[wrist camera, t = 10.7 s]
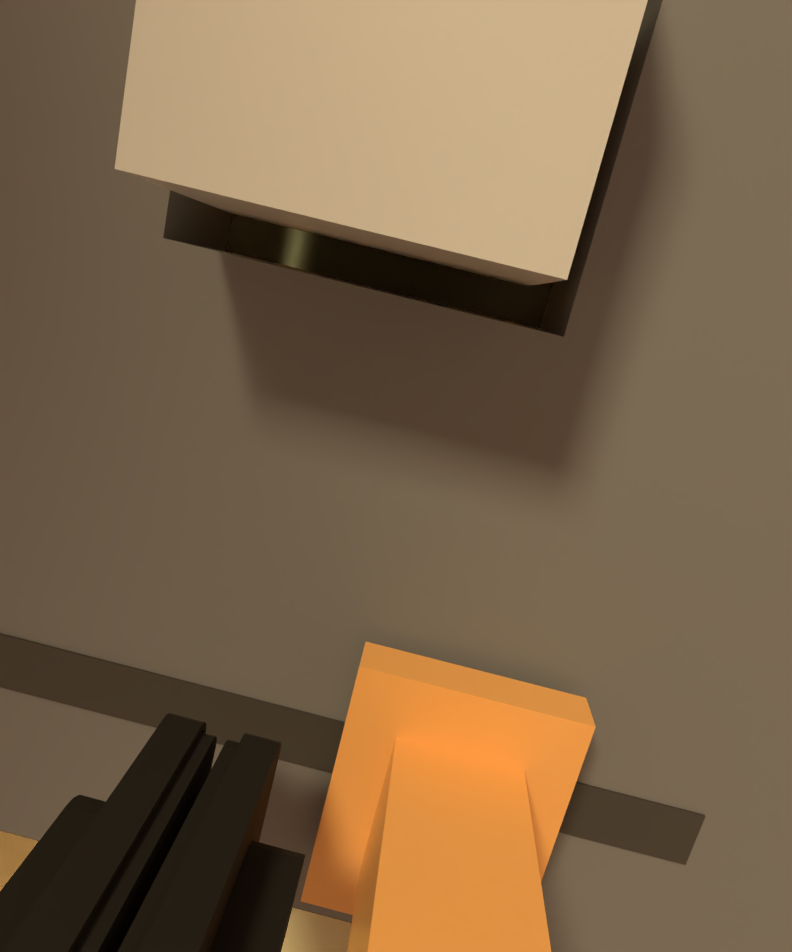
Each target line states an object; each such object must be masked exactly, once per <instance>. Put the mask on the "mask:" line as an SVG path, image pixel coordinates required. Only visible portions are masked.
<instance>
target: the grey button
mask: <svg viewBox="0 0 792 952" xmlns="http://www.w3.org/2000/svg"><path fill="white" fill-rule="evenodd" d="M647 2H648V0H136V5H135V13H134V21H133V28H132V36H131V44H130V52H129V60H128V67H127V75H126V83H125V91H124V99H123V106H122V114H121V122H120V130H119V138H118V146H117V153H116V161H115V169H116V170H119V171H121V172H124V173H127V174H129V175H132V176H135V177H137V178H140V179H142V180H145V181H148V182H150V183H153V184H156V185H158V186H161V187H163V188H166V189H169V190H171V191H174V192H176V193H179V194H182V195H184V196H187V197H190V198H192V199H195V200H197V201H200V202H203V203H205V204H208V205H211V206H213V207H216V208H218V209H221V210H224V211H226V212H229V213H232V214H236V215H240V216H244V217H248V218H252V219H256V220H261V221H265V222H269V223H273V224H277V225H281V226H285V227H289V228H293V229H297V230H301V231H305V232H309V233H313V234H318V235H322V236H326V237H330V238H334V239H338V240H342V241H346V242H350V243H354V244H358V245H362V246H366V247H370V248H375V249H379V250H383V251H387V252H391V253H395V254H399V255H403V256H407V257H411V258H415V259H419V260H423V261H428V262H432V263H436V264H440V265H444V266H448V267H452V268H456V269H460V270H464V271H468V272H472V273H476V274H480V275H485V276H489V277H493V278H497V279H501V280H505V281H509V282H513V283H517V284H521V285H525V286H533V285H539V284H545V283H551V282H557V281H563V280H567V279H568V275H569V272H570V268H571V265H572V261H573V258H574V254H575V251H576V248H577V244H578V241H579V237H580V234H581V230H582V227H583V223H584V220H585V216H586V213H587V209H588V206H589V203H590V199H591V196H592V192H593V189H594V185H595V182H596V178H597V175H598V171H599V168H600V164H601V161H602V157H603V154H604V151H605V147H606V144H607V140H608V137H609V133H610V130H611V126H612V123H613V119H614V116H615V112H616V109H617V106H618V102H619V99H620V95H621V92H622V88H623V85H624V81H625V78H626V74H627V71H628V67H629V64H630V60H631V57H632V54H633V50H634V47H635V43H636V40H637V36H638V33H639V29H640V26H641V22H642V19H643V15H644V12H645V9H646V5H647Z"/></svg>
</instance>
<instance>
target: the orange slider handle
mask: <svg viewBox="0 0 792 952" xmlns="http://www.w3.org/2000/svg"><path fill="white" fill-rule="evenodd" d="M595 728H596V726H595V723H594V720H593V717H592V714H591V711H590V708H589V705H588V702H587V699H586V698H585V697H581V696H577V695H574V694H570V693H566V692H562V691H558V690H554V689H550V688H546V687H542V686H538V685H534V684H530V683H527V682H523V681H519V680H515V679H511V678H507V677H503V676H499V675H495V674H491V673H487V672H484V671H480V670H476V669H472V668H468V667H464V666H460V665H456V664H452V663H448V662H444V661H441V660H437V659H433V658H429V657H425V656H421V655H417V654H413V653H409V652H405V651H401V650H397V649H394V648H390V647H386V646H382V645H378V644H374V643H370V642H365V646H364V650H363V654H362V657H361V661H360V665H359V669H358V673H357V677H356V681H355V685H354V689H353V693H352V697H351V701H350V705H349V709H348V713H347V717H346V721H345V725H344V729H343V733H342V737H341V741H340V745H339V749H338V753H337V757H336V761H335V765H334V769H333V773H332V777H331V781H330V785H329V789H328V793H327V797H326V801H325V805H324V809H323V813H322V817H321V821H320V825H319V829H318V833H317V837H316V841H315V845H314V849H313V853H312V857H311V861H310V865H309V869H308V873H307V877H306V881H305V885H304V889H303V893H302V897H301V902H305V903H309V904H313V905H316V906H320V907H324V908H328V909H332V910H335V911H339V912H343V913H347V914H351V915H353V917H352V924H351V930H350V936H349V942H348V948H347V952H551V946H550V939H549V932H548V926H547V919H546V912H545V906H544V899H543V892H542V886H541V881H542V878H543V875H544V872H545V869H546V867H547V864H548V861H549V858H550V855H551V852H552V850H553V847H554V844H555V841H556V838H557V835H558V833H559V830H560V827H561V824H562V821H563V818H564V816H565V813H566V810H567V807H568V804H569V801H570V798H571V796H572V793H573V790H574V787H575V784H576V781H577V779H578V776H579V773H580V770H581V767H582V764H583V762H584V759H585V756H586V753H587V750H588V747H589V745H590V742H591V739H592V736H593V733H594V730H595Z"/></svg>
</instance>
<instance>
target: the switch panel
mask: <svg viewBox="0 0 792 952" xmlns="http://www.w3.org/2000/svg"><path fill="white" fill-rule="evenodd" d="M135 5H136V0H0V831H4V832H8V833H12V834H16V835H19V836H23V837H27V838H31V839H35V840H38V841H39V840H40V839H41V838H42V837H43V835H44V834H45V833H46V831H47V830H48V829H49V827H50V826H51V825H52V823H53V822H54V821H55V820H56V818H57V817H58V816H59V814H60V813H61V812H62V810H63V809H64V808H65V806H66V805H67V804H68V803H69V802H70V801H71V800H72V799H73V798H74V797H76V796H77V795H83V796H87V797H91V798H94V799H98V800H102V801H107V799H108V798H109V796H110V795H111V793H112V792H113V791H114V789H115V788H116V786H117V785H118V783H119V782H120V780H121V779H122V778H123V776H124V775H125V773H126V772H127V770H128V769H129V767H130V766H131V765H132V763H133V762H134V760H135V759H136V757H137V756H138V754H139V753H140V752H141V750H142V749H143V747H144V746H145V744H146V743H147V741H148V740H149V739H150V737H151V736H152V734H153V733H154V731H155V730H156V728H157V727H158V726H159V724H160V723H161V721H162V720H163V718H164V717H165V716H166V715H167V714H168V713H172V714H175V715H179V716H183V717H187V718H191V719H194V720H198V721H202V722H205V723H206V734H209V735H213V736H216V737H217V743H216V749H215V753H214V758H213V763H212V767H213V765H214V763H215V761H216V759H217V757H218V756H219V754H220V752H221V750H222V748H223V746H224V744H225V742H226V741H227V740H232V741H235V742H239V743H240V740H241V738H242V737H243V735H244V734H245V733H247V734H251V735H255V736H259V737H263V738H266V739H270V740H274V741H278V742H281V750H280V754H279V759H278V763H277V767H276V772H275V776H274V780H273V784H272V789H271V793H270V797H269V802H268V806H267V810H266V814H265V819H264V823H263V827H262V832H261V836H260V840H259V842H260V843H263V844H267V845H271V846H275V847H278V848H282V849H286V850H290V851H294V852H297V853H301V854H305V859H304V863H303V867H302V871H301V875H300V879H299V883H298V887H297V891H296V895H295V899H294V903H293V908H297V909H301V910H305V911H308V912H312V913H316V914H320V915H324V916H327V917H331V918H335V919H339V920H343V921H346V922H350V923H352V917H353V915H351V914H347V913H343V912H339V911H335V910H332V909H328V908H324V907H320V906H316V905H313V904H309V903H305V902H301V897H302V893H303V889H304V885H305V881H306V877H307V873H308V869H309V865H310V861H311V857H312V853H313V849H314V845H315V841H316V837H317V833H318V829H319V825H320V821H321V817H322V813H323V809H324V805H325V801H326V797H327V793H328V789H329V785H330V781H331V777H332V773H333V769H334V765H335V761H336V757H337V753H338V749H339V745H340V741H341V737H342V733H343V729H344V725H345V721H346V717H347V713H348V709H349V705H350V701H351V697H352V693H353V689H354V685H355V681H356V677H357V673H358V669H359V665H360V661H361V657H362V654H363V650H364V646H365V642H370V643H374V644H378V645H382V646H386V647H390V648H394V649H397V650H401V651H405V652H409V653H413V654H417V655H421V656H425V657H429V658H433V659H437V660H441V661H444V662H448V663H452V664H456V665H460V666H464V667H468V668H472V669H476V670H480V671H484V672H487V673H491V674H495V675H499V676H503V677H507V678H511V679H515V680H519V681H523V682H527V683H530V684H534V685H538V686H542V687H546V688H550V689H554V690H558V691H562V692H566V693H570V694H574V695H577V696H581V697H585V698H586V699H587V702H588V705H589V708H590V711H591V714H592V717H593V720H594V723H595V726H596V728H595V730H594V733H593V736H592V739H591V742H590V745H589V747H588V750H587V753H586V756H585V759H584V762H583V764H582V767H581V770H580V773H579V776H578V779H577V781H576V784H575V787H574V790H573V793H572V796H571V798H570V801H569V804H568V807H567V810H566V813H565V816H564V818H563V821H562V824H561V827H560V830H559V833H558V835H557V838H556V841H555V844H554V847H553V850H552V852H551V855H550V858H549V861H548V864H547V867H546V869H545V872H544V875H543V878H542V881H541V886H542V892H543V899H544V906H545V912H546V919H547V926H548V932H549V939H550V946H551V952H792V0H648V2H647V5H646V9H645V12H644V15H643V19H642V22H641V26H640V29H639V33H638V36H637V40H636V43H635V47H634V50H633V54H632V57H631V60H630V64H629V67H628V71H627V74H626V78H625V81H624V85H623V88H622V92H621V95H620V99H619V102H618V106H617V109H616V112H615V116H614V119H613V123H612V126H611V130H610V133H609V137H608V140H607V144H606V147H605V151H604V154H603V157H602V161H601V164H600V168H599V171H598V175H597V178H596V182H595V185H594V189H593V192H592V196H591V199H590V203H589V206H588V209H587V213H586V216H585V220H584V223H583V227H582V230H581V234H580V237H579V241H578V244H577V248H576V251H575V254H574V258H573V261H572V265H571V268H570V272H569V275H568V279H567V280H563V281H557V282H553V284H552V288H551V291H550V295H549V298H548V302H547V305H546V309H545V312H544V316H543V319H542V323H541V326H540V328H536V327H532V326H528V325H524V324H520V323H516V322H512V321H508V320H504V319H500V318H496V317H491V316H487V315H483V314H479V313H475V312H471V311H467V310H463V309H459V308H455V307H451V306H447V305H443V304H439V303H435V302H431V301H427V300H423V299H418V298H414V297H410V296H406V295H402V294H398V293H394V292H390V291H386V290H382V289H378V288H374V287H370V286H366V285H362V284H358V283H354V282H350V281H345V280H341V279H337V278H333V277H329V276H325V275H321V274H317V273H313V272H309V271H305V270H301V269H297V268H293V267H289V266H285V265H281V264H277V263H273V262H268V261H264V260H260V259H256V258H252V257H248V256H244V255H240V254H236V253H232V252H228V251H226V248H227V243H228V237H229V231H230V225H231V219H232V213H229V212H226V211H224V210H221V209H218V208H216V207H213V206H211V205H208V204H205V203H203V202H200V201H197V200H195V199H192V198H190V197H187V196H184V195H182V194H179V193H176V192H174V191H171V190H169V189H166V188H163V187H161V186H158V185H156V184H153V183H150V182H148V181H145V180H142V179H140V178H137V177H135V176H132V175H129V174H127V173H124V172H121V171H119V170H116V169H115V161H116V153H117V146H118V138H119V130H120V122H121V114H122V106H123V99H124V91H125V83H126V75H127V67H128V60H129V52H130V44H131V36H132V28H133V21H134V13H135ZM211 769H212V768H211Z"/></svg>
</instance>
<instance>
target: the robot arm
mask: <svg viewBox="0 0 792 952" xmlns="http://www.w3.org/2000/svg"><path fill="white" fill-rule="evenodd" d="M216 743H217V737H216V736H213V735H209V734H206V723H205V722H202V721H198V720H194V719H191V718H187V717H183V716H179V715H175V714H172V713H168V714H167V715H166V716H165V717H164V718H163V720H162V721H161V723H160V724H159V726H158V727H157V728H156V730H155V731H154V733H153V734H152V736H151V737H150V739H149V740H148V741H147V743H146V744H145V746H144V747H143V749H142V750H141V752H140V753H139V754H138V756H137V757H136V759H135V760H134V762H133V763H132V765H131V766H130V767H129V769H128V770H127V772H126V773H125V775H124V776H123V778H122V779H121V780H120V782H119V783H118V785H117V786H116V788H115V789H114V791H113V792H112V793H111V795H110V796H109V798H108V799H107V801H102V800H98V799H94V798H91V797H87V796H83V795H77V796H76V797H74V798H73V799H72V800H71V801H70V802H69V803H68V804H67V805H66V806H65V808H64V809H63V810H62V812H61V813H60V814H59V816H58V817H57V818H56V820H55V821H54V822H53V823H52V825H51V826H50V827H49V829H48V830H47V831H46V833H45V834H44V835H43V837H42V838H41V839H40V840H39V842H38V843H37V844H36V846H35V847H34V848H33V850H32V851H31V852H30V854H29V855H28V856H27V858H26V859H25V860H24V861H23V863H22V864H21V865H20V867H19V868H18V869H17V871H16V872H15V873H14V875H13V876H12V877H11V878H10V880H9V881H8V882H7V884H6V885H5V886H4V888H3V889H2V890H1V892H0V952H281V949H282V945H283V941H284V938H285V934H286V930H287V926H288V922H289V918H290V914H291V911H292V907H293V903H294V899H295V895H296V891H297V887H298V883H299V879H300V875H301V871H302V867H303V863H304V859H305V854H301V853H297V852H294V851H290V850H286V849H282V848H278V847H275V846H271V845H267V844H263V843H260V842H259V840H260V836H261V832H262V827H263V823H264V819H265V814H266V810H267V806H268V802H269V797H270V793H271V789H272V784H273V780H274V776H275V772H276V767H277V763H278V759H279V754H280V750H281V742H278V741H274V740H270V739H266V738H263V737H259V736H255V735H251V734H247V733H245V734H244V735H243V737H242V738H241V740H240V743H239V742H235V741H232V740H227V741H226V742H225V744H224V746H223V748H222V750H221V752H220V754H219V756H218V757H217V759H216V761H215V763H214V765H213V767H212V763H213V758H214V753H215V749H216ZM211 768H212V769H211Z"/></svg>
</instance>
